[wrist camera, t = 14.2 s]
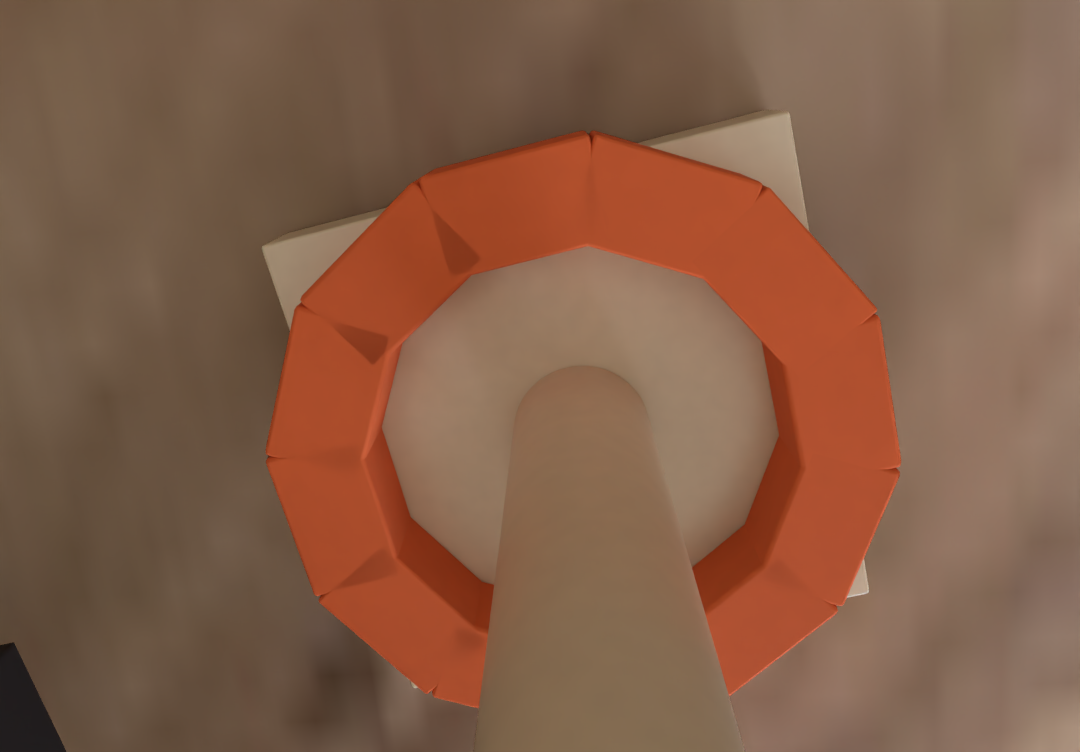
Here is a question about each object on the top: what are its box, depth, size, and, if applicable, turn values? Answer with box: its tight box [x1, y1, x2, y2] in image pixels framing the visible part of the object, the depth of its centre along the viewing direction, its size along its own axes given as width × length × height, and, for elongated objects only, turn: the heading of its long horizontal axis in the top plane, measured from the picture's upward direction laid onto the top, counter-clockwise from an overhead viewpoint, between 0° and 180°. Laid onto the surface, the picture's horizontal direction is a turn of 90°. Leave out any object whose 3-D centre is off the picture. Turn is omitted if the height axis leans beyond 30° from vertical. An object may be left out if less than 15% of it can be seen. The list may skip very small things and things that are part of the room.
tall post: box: [262, 110, 869, 752], centre depth 10 cm, size 9×9×16 cm
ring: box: [266, 131, 901, 708], centre depth 15 cm, size 10×10×2 cm
